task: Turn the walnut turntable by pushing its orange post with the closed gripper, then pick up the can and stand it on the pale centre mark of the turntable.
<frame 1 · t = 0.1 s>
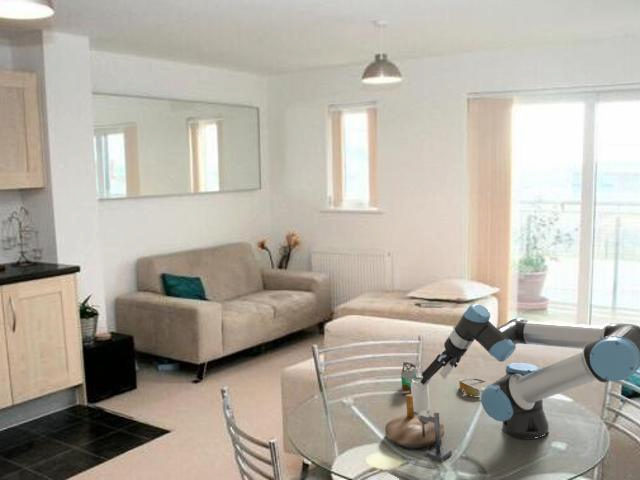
hand: (431, 382, 231), 15 cm above the table, tool tilted 35°, fingers open, 13 cm apart
can: (420, 411, 244), on the table
food container: (411, 390, 263), on the table
sunglasses: (478, 391, 258), on the table
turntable: (413, 418, 222), point 7 cm above the table, hinge at 0.0°
turntable base: (415, 438, 223), on the table
dial indicator stand: (438, 455, 211), on the table
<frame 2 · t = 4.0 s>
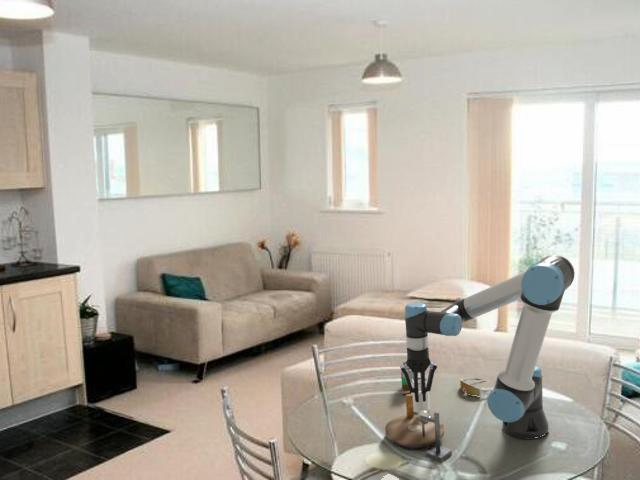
hand: (420, 409, 231), 6 cm above the table, tool pointing down, fingers closed
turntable: (413, 418, 222), point 7 cm above the table, hinge at 0.6°, touching gripper
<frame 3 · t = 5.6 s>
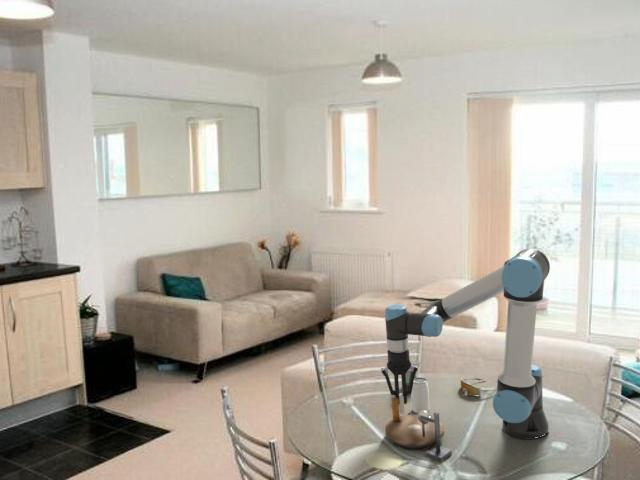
hand: (401, 412, 231), 6 cm above the table, tool pointing down, fingers closed
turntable: (413, 418, 222), point 7 cm above the table, hinge at 38.8°, touching gripper
everything else where it was.
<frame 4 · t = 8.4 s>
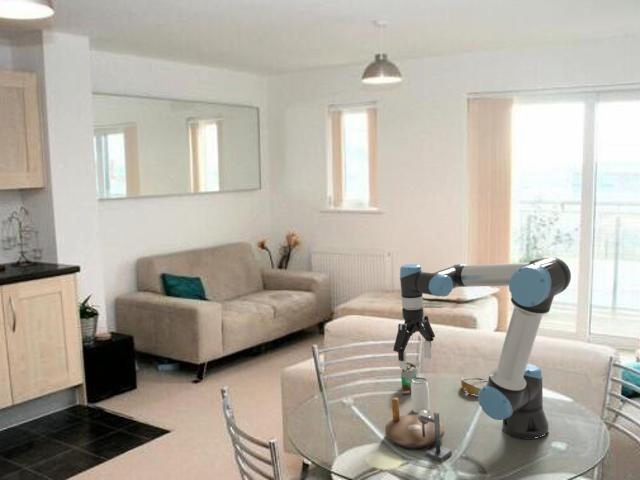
hand: (415, 363, 237), 20 cm above the table, tool pointing down, fingers open, 13 cm apart
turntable: (413, 418, 222), point 7 cm above the table, hinge at 38.9°
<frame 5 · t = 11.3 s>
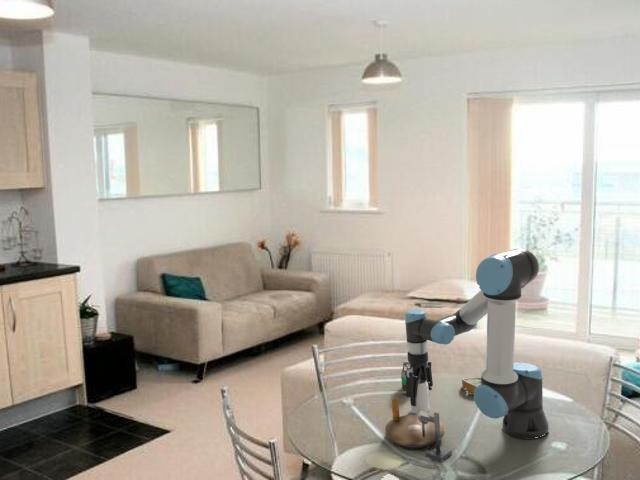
hand: (420, 409, 244), 0 cm above the table, tool pointing down, fingers closed on can, 6 cm apart
can: (420, 410, 244), on the table, touching gripper
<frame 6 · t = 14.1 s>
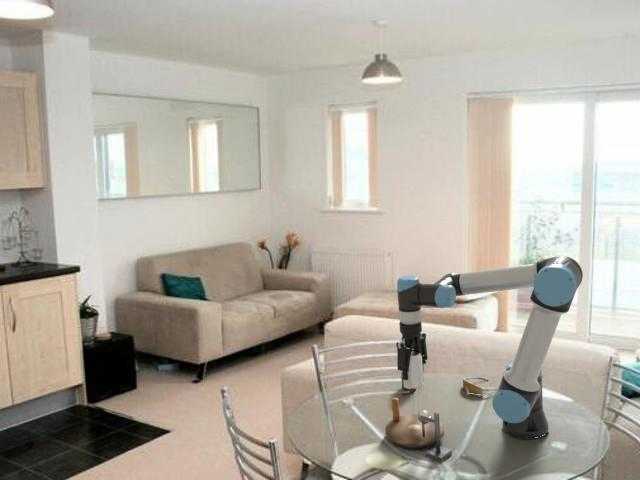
hand: (414, 384, 226), 17 cm above the table, tool pointing down, fingers closed on can, 6 cm apart
can: (414, 385, 227), point 16 cm above the table, touching gripper
when the fingers open (6 cm above the table, at t = 17.0 s): can drops 1 cm, resting on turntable.
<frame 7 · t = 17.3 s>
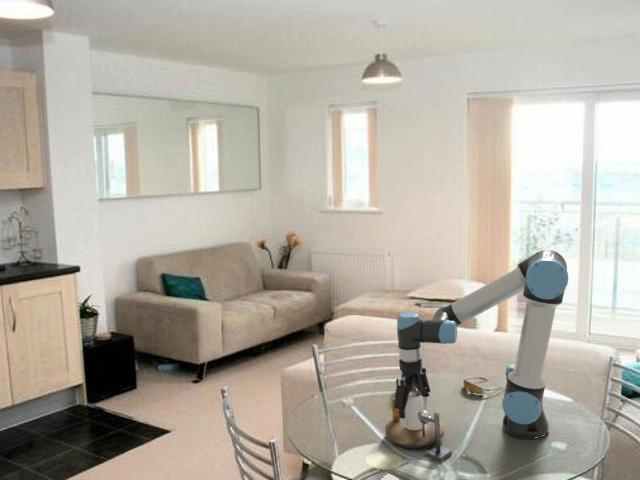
hand: (413, 420, 222), 7 cm above the table, tool pointing down, fingers open, 10 cm apart
can: (414, 427, 223), point 4 cm above the table, touching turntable
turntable: (413, 418, 222), point 7 cm above the table, hinge at 38.9°, touching can
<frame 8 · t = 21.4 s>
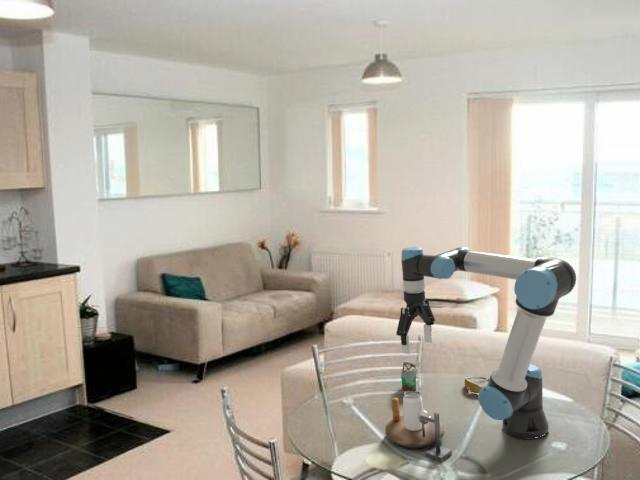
hand: (417, 347, 235), 27 cm above the table, tool pointing down, fingers open, 13 cm apart
at the end: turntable at +39° (first picture: +0°); can 0.1 cm from the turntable (horizontally); can tilted 0° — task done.
